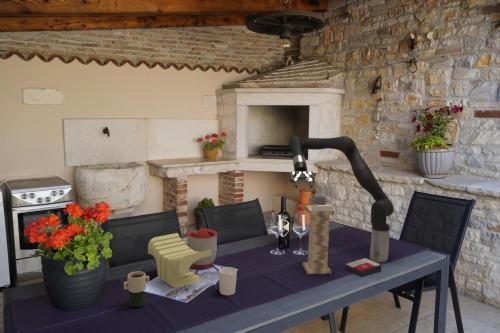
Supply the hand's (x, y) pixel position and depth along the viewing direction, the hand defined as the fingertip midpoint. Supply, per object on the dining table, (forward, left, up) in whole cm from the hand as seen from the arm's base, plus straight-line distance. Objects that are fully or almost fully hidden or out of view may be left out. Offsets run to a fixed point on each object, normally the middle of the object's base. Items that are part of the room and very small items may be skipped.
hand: (303, 187), depth 233 cm
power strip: (+20, +29, -5) cm, 35 cm away
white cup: (+69, +17, -37) cm, 80 cm away
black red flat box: (-1, +41, -37) cm, 55 cm away
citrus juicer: (+59, -17, -37) cm, 72 cm away
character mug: (+105, +3, -37) cm, 111 cm away
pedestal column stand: (+17, +25, -37) cm, 48 cm away
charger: (+14, +20, -5) cm, 24 cm away
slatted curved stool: (+79, -7, -37) cm, 88 cm away
